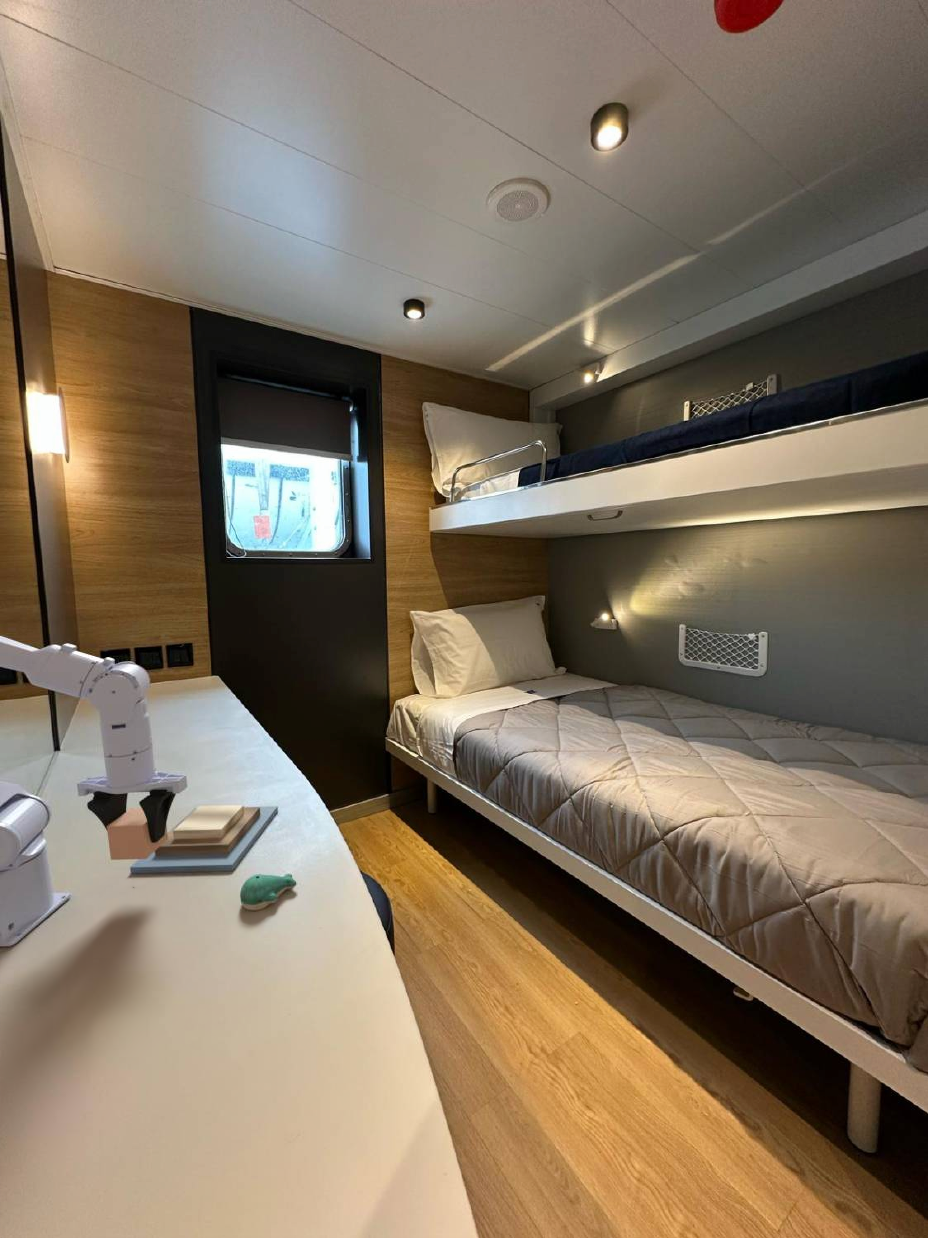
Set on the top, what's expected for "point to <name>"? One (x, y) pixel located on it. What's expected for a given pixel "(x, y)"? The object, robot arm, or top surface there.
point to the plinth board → (206, 859)
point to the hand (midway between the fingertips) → (139, 839)
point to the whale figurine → (264, 890)
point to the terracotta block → (131, 836)
